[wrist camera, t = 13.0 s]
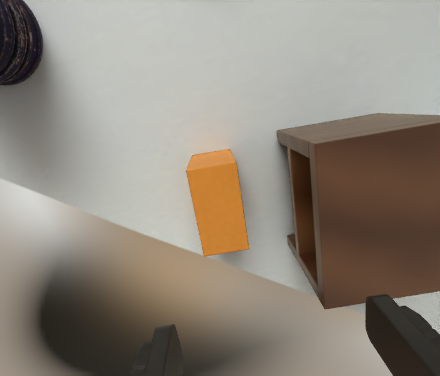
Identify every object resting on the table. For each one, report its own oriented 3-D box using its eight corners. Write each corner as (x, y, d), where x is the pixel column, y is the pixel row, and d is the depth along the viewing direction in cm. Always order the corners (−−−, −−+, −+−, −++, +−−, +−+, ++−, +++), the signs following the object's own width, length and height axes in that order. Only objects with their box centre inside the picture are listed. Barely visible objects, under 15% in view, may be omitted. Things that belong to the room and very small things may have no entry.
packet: (191, 155, 32) (185, 170, 24) (229, 148, 32) (236, 161, 24) (205, 223, 34) (204, 256, 27) (240, 217, 34) (249, 249, 27)
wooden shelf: (276, 130, 31) (314, 143, 20) (378, 113, 31) (477, 116, 19) (287, 244, 36) (324, 309, 24) (377, 230, 35) (456, 288, 24)
